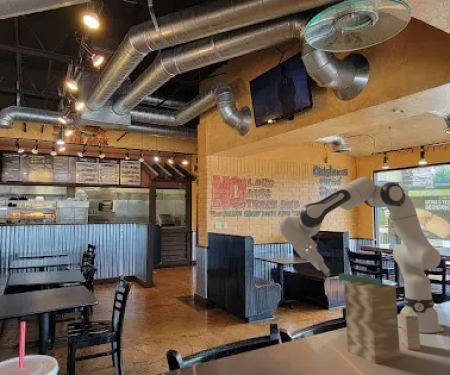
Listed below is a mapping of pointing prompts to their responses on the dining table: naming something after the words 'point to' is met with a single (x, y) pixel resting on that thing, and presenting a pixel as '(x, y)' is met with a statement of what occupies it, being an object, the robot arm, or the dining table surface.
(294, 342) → the dining table surface
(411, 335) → the supplement box
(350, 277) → the teal bar
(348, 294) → the birch post
